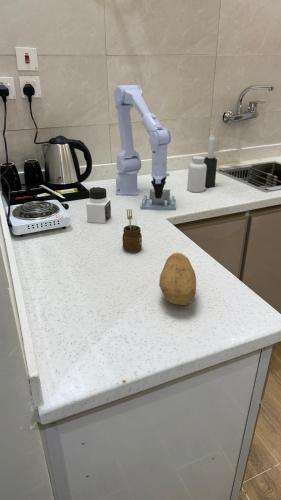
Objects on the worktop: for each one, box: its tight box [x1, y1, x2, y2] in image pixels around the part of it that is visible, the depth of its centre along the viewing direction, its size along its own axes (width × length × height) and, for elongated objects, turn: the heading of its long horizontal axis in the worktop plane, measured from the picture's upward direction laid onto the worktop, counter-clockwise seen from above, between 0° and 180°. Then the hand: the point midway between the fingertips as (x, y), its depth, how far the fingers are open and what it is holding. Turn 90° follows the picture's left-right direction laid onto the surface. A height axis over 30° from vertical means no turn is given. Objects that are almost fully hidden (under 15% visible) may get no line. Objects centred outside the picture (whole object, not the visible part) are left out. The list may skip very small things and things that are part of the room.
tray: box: [139, 194, 177, 211], centre depth 144 cm, size 14×10×4 cm
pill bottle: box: [186, 155, 207, 193], centre depth 160 cm, size 8×8×15 cm
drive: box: [148, 188, 171, 205], centre depth 144 cm, size 8×4×5 cm, turn 84°
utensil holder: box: [121, 208, 143, 254], centre depth 108 cm, size 6×6×12 cm
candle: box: [204, 130, 218, 189], centre depth 163 cm, size 5×5×25 cm
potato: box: [158, 252, 197, 306], centre depth 85 cm, size 9×16×9 cm, turn 173°
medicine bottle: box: [85, 186, 112, 224], centre depth 129 cm, size 7×7×12 cm
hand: (158, 196), depth 143 cm, fingers closed on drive, 4 cm apart
